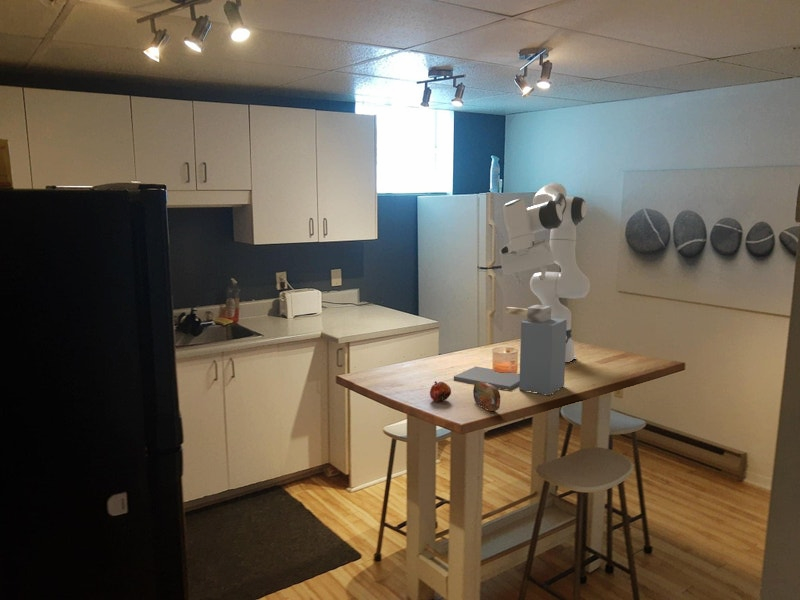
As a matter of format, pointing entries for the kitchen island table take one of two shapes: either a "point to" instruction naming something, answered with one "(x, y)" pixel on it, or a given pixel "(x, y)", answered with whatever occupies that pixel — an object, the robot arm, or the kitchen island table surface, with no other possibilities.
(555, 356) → the stand
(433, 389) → the pomegranate
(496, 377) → the board
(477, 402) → the tin
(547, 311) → the mallet
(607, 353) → the kitchen island table surface
